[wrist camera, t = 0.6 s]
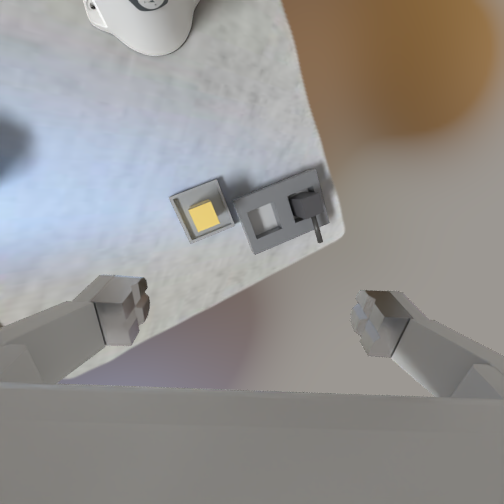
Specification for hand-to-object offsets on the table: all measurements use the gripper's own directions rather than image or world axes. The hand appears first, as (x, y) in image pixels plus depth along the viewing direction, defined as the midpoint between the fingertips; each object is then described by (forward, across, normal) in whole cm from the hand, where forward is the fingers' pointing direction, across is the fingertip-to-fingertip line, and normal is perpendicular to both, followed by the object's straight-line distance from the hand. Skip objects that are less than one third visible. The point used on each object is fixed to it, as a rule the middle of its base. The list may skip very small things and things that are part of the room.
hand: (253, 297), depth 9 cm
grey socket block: (+43, -7, +9) cm, 45 cm away
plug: (+40, +9, +9) cm, 42 cm away
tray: (+40, +9, +9) cm, 42 cm away
